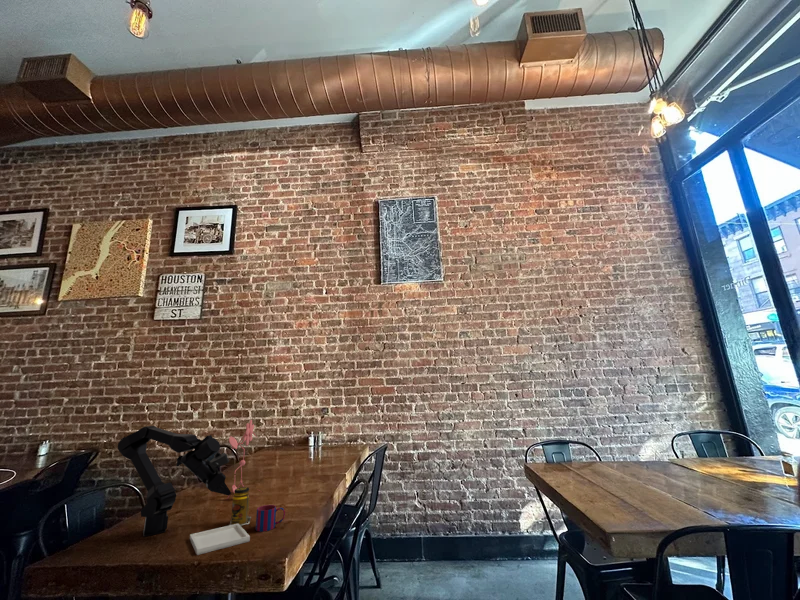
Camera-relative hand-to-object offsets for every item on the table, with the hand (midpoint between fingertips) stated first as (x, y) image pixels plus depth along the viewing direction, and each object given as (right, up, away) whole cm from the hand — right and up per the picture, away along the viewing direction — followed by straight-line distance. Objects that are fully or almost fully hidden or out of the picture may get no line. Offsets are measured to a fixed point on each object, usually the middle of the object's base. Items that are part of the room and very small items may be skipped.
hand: (227, 491), depth 137 cm
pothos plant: (-8, -21, +35) cm, 41 cm away
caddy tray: (+5, -8, -16) cm, 19 cm away
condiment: (+5, -12, +1) cm, 13 cm away
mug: (+19, -10, -6) cm, 22 cm away
